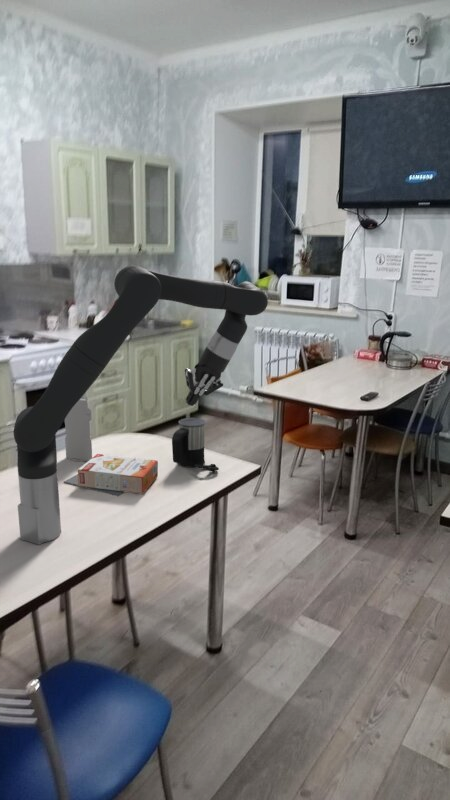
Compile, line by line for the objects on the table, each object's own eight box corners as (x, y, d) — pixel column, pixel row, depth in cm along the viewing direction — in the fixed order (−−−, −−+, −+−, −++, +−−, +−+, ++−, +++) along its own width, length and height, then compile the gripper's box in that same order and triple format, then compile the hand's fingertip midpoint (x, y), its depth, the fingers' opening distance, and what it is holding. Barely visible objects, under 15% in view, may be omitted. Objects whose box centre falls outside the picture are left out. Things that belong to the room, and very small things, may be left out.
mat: (117, 496, 167) (117, 494, 167) (64, 482, 175) (64, 481, 175) (157, 470, 186) (157, 468, 186) (107, 458, 194) (107, 457, 194)
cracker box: (143, 475, 165) (76, 468, 170) (143, 494, 167) (77, 487, 171) (158, 458, 179) (96, 452, 183) (158, 476, 180) (97, 470, 184)
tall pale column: (62, 459, 192) (58, 397, 186) (68, 455, 196) (64, 394, 190) (90, 463, 190) (87, 400, 184) (96, 459, 194) (93, 397, 188)
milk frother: (183, 456, 199) (183, 415, 194) (227, 462, 194) (228, 421, 190) (168, 471, 185) (168, 428, 181) (214, 478, 181) (215, 434, 177)
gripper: (206, 350, 147) (175, 405, 152) (243, 364, 156) (213, 416, 160) (194, 338, 153) (165, 391, 158) (231, 352, 161) (202, 402, 166)
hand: (189, 403), depth 159 cm, fingers closed
